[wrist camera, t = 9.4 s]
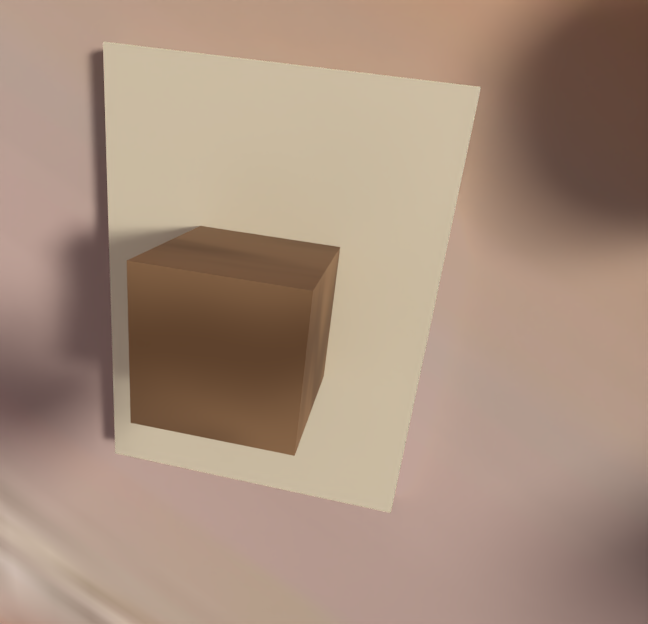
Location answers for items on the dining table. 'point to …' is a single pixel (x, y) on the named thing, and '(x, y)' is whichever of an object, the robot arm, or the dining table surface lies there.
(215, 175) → the plate
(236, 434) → the walnut block
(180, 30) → the dining table surface
